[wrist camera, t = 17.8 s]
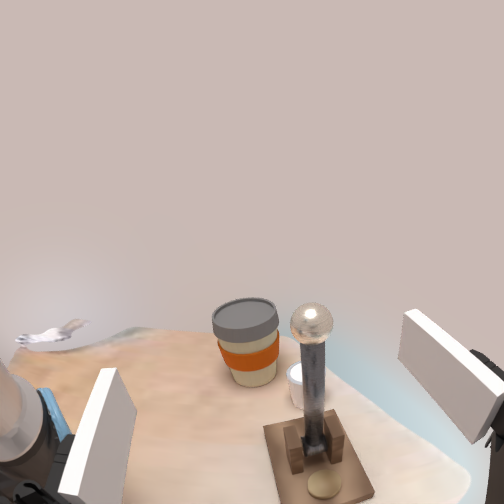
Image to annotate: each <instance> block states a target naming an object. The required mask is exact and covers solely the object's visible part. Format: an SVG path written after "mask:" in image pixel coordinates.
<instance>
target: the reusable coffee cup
mask: <svg viewBox="0 0 504 504" xmlns="http://www.w3.org/2000/svg"><path fill="white" fill-rule="evenodd" d="M212 323H213V331H214V334H215V336H216V337H217V338H218V346H219V349H220V351H221V354H222V356H223V358H224V361H225V363H226V365H228V366H229V368H230V370H231V372H232V375H233V377H234V379H235V381H236V382H237V383H238V384H240V385H242V386H245V387H259V386H262V385H265V384H267V383H269V382H270V381H271V380H272V379H273V378H274V377H275V375H276V359H277V357H278V354H279V331H278V329H277V327H278V324H279V319H278V314H277V311H276V307H275V305H274V303H272V302H271V301H269V300H267V299H263V298H242V299H236V300H233V301H230V302H228V303H225V304H223V305H221V306H220V307H218V308H217V309H216V310H215V311H214V313H213V314H212Z"/></svg>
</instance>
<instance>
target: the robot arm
mask: <svg viewBox="0 0 504 504" xmlns="http://www.w3.org/2000/svg"><path fill="white" fill-rule="evenodd" d="M398 359H399V360H400V362H401V363H402V364H403V365H404V366H405V367H406V368H407V369H408V370H409V372H410V373H411V374H412V375H413V376H414V377H415V378H416V379H417V381H418V382H419V383H420V384H421V385H422V386H423V388H424V389H425V390H426V391H427V392H428V393H429V394H430V396H431V397H432V398H433V399H434V400H435V401H436V403H437V404H438V405H439V406H440V407H441V408H442V410H443V411H444V412H445V413H446V414H447V415H448V417H449V418H450V419H451V420H452V421H453V423H454V424H455V425H456V426H457V427H458V429H459V430H460V431H461V432H462V433H463V435H464V436H465V437H466V438H467V439H468V441H469V442H470V443H471V444H474V443H475V442H477V441H478V440H480V439H481V438H482V437H484V436H485V435H486V433H487V431H488V429H489V428H490V426H491V427H492V429H493V430H494V431H493V432H492V434H491V436H490V438H489V439H488V441H487V442H486V444H485V448H486V447H487V446H488V445H489V443H490V442H491V446H490V448H491V457H490V469H489V479H488V487H487V495H486V501H485V504H504V371H502V370H501V369H500V368H499V367H498V366H496V365H495V364H494V363H493V362H492V361H490V359H488V358H487V357H486V356H485V355H484V354H482V353H480V352H478V351H475V350H473V349H472V350H470V351H468V350H467V349H466V348H464V347H463V346H462V345H461V344H459V343H458V342H457V341H456V340H455V339H454V338H452V337H451V336H450V335H449V334H447V333H446V332H445V331H444V330H443V329H441V328H440V327H439V326H438V325H436V324H435V323H434V322H433V321H431V320H430V319H429V318H428V317H426V316H425V315H424V314H423V313H421V312H420V311H419V310H418V309H414V310H411V311H407V312H405V313H404V317H403V325H402V333H401V340H400V347H399V354H398ZM136 415H137V410H136V408H135V406H134V404H133V402H132V400H131V398H130V396H129V394H128V391H127V389H126V387H125V385H124V383H123V381H122V379H121V377H120V374H119V372H118V370H117V368H105V369H101V371H100V373H99V376H98V378H97V381H96V383H95V386H94V388H93V391H92V393H91V396H90V398H89V401H88V403H87V406H86V408H85V411H84V414H83V416H82V419H81V422H80V425H79V427H78V430H77V433H76V435H73V434H72V433H71V431H70V429H69V427H68V425H67V423H66V421H65V419H64V417H63V415H62V413H61V411H60V408H59V406H58V404H57V402H56V400H55V397H54V395H53V393H52V391H51V390H50V389H49V388H39V389H37V390H35V388H34V387H33V386H32V385H31V384H30V383H29V382H28V381H27V380H25V379H24V378H22V377H20V376H17V375H14V374H10V373H9V371H8V370H7V368H6V367H5V365H4V363H3V362H2V360H1V359H0V504H122V496H123V489H124V482H125V476H126V469H127V463H128V457H129V452H130V446H131V440H132V435H133V430H134V425H135V420H136Z"/></svg>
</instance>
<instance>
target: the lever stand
mask: <svg viewBox="0 0 504 504" xmlns="http://www.w3.org/2000/svg"><path fill="white" fill-rule="evenodd" d="M263 428H264V433H265V437H266V442H267V446H268V450H269V455H270V459H271V463H272V468H273V472H274V476H275V480H276V485H277V489H278V493H279V497H280V501H281V504H355V503H358V502H361V501H364V500H367V499H369V498H372V497H373V495H374V492H375V491H374V489H373V487H372V485H371V483H370V481H369V479H368V477H367V475H366V473H365V471H364V469H363V467H362V465H361V463H360V461H359V459H358V457H357V455H356V453H355V450H354V448H353V446H352V444H351V442H350V440H349V438H348V436H347V434H346V432H345V430H344V428H343V426H342V424H341V422H340V420H339V418H338V416H337V414H336V412H335V410H334V409H332V410H329V411H325V412H324V425H323V433H324V435H325V437H326V441H327V446H328V451H327V452H323V453H320V454H316V455H312V456H309V457H305V456H304V454H303V450H302V445H301V442H300V436H304V435H305V433H304V417H302V418H298V419H294V420H290V421H285V422H281V423H276V424H271V425H266V426H263Z"/></svg>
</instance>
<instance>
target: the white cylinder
mask: <svg viewBox="0 0 504 504" xmlns="http://www.w3.org/2000/svg"><path fill="white" fill-rule="evenodd" d="M286 376H287V380H288V384H289V388H290V393H291V397H292V401H293V404H294V405H295V406H296V407H297V408H300V409H303V410H304V406H303V385H302V366H301V361H298V362H296V363H294V364H292V365H291V366H290V367H289V368H288V369H287V373H286ZM325 376H326V368H325Z"/></svg>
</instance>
